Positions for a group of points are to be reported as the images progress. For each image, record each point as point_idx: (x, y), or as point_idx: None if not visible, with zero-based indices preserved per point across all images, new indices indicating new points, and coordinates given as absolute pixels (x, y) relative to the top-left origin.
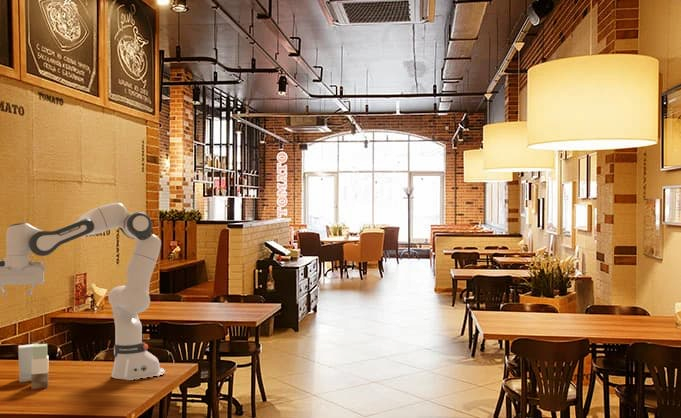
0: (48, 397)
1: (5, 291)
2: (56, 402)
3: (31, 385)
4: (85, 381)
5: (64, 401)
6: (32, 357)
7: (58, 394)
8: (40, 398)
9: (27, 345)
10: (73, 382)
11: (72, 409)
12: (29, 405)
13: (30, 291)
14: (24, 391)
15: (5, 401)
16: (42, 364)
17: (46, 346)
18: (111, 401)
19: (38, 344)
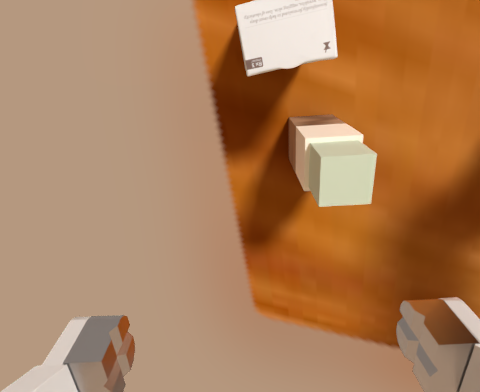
0: (332, 243)
1: (91, 378)
2: (347, 281)
3: (290, 161)
4: (436, 116)
5: (363, 279)
6: (305, 156)
7: (354, 226)
8: (315, 246)
9: (280, 29)
10: (402, 117)
11: (374, 328)
12: (295, 287)
13: (460, 384)
14: (273, 177)
15: (242, 248)
16: None
17: (369, 203)
18: None
19: (339, 161)
